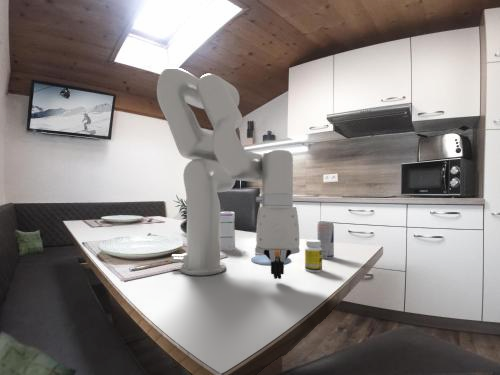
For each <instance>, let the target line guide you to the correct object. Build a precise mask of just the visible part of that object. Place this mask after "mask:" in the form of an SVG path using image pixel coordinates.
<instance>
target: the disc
mask: <svg viewBox="0 0 500 375" xmlns="http://www.w3.org/2000/svg"><path fill="white" fill-rule="evenodd" d="M276 260H278V258H276ZM250 261H251V262H252V263H254V264H255V265H261V266H271V260H270V259H269V258H268V257H267V256H266V255H254V256H252V257H251V258H250ZM291 262H292V259H291V258H290V257H289V256H288V257H287V258H286V259H285V261H284V265H287V264H290V263H291Z"/></svg>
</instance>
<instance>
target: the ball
mask: <svg viewBox="0 0 500 375" xmlns="http://www.w3.org/2000/svg"><path fill="white" fill-rule="evenodd" d="M274 254H275V257H276V258H278V257H279V254H280V250H274Z"/></svg>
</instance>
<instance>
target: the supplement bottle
mask: <svg viewBox="0 0 500 375" xmlns="http://www.w3.org/2000/svg"><path fill="white" fill-rule="evenodd" d="M305 245H306V246H305V249H304V270H305V271H306V272H308V273H321V272H322V271H323V259H322V248H321V247H320V246H321V241H320V240H318V239H307V240H306V243H305Z"/></svg>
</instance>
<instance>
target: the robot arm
mask: <svg viewBox="0 0 500 375" xmlns="http://www.w3.org/2000/svg"><path fill="white" fill-rule="evenodd" d="M156 97H157V102H158V105H159V107H160V109H161V111H162V113H163V116H164V117H165V120H166V122H167V124H168V127H169V131H170V133H171V136H172V138H173V139H174V142H175V145H176V149H177V150H178V152H179V154H180V155H181V157H182V158H185V159H187V160H190V161H189V162H187V163H186V166H184V170H183V185H184V189H185V196H186V252H185V253H182V254H172V255H171V261H172V262H173V263H175V264H177V263H181V266H180V271H181V273H183V274H184V275H189V276H202V277H203V276H212V275H216V274H219V273H222V272H224V271H225V270H226V266H227V265H226V263H225V262H223V261H221V250H220V213H221V203H220V201H221V200H220V198H219V195H218V193H223V192H228V191H230V190H231V189H233V187H234V186H235V185H236V184H235V183H236V181H243V182H244V181H245V182H250V183H251V182H253V183H254V182H255V183H257V182H261V195H259V196H256V197H255V201H256V202H255V203H260V204H261V206H259V207H258V211H257V216H256V218H257V219H256V232H255V234H256V235H255V236H256V237H255V238H256V240H255V242H256V246H255V248H254V252H255V251H256V252H257V253H261V254H265V255H266V256H267V257H268V258H269V259H270V260H271V265H270V274H271V275H273V279H275V280H276V279H277V280H278V279H279V280H280V279H282V275H284V274H285V270H284V268H285V266H284V265H285V264H284V261H285V259H286V258H287V257H288V258H289V257H290V256H291V255H294V254H298V253H300V251H301V250H300V227H299V224H300V223H299V216H298V211H297V206H295V207H294V188H293V187H294V184H293V183H294V170H293V169H294V164H293V163H294V160H293V159H294V158H293V153H292V152H291V151H288V150H284V149H272V150H271V149H270V150H266V151H265V152H263V154H259V153H256V152H252V151H249V150H246V149H245V148H244V146H243V144H242V143H241V141H240V138H239V136H238V134H237V131H236V129H237V128H239V127H240V125H241V124H242V122H243V115H242V113H241V111H240V109H239V108H238V106H239V105H240V94H239V91H238V89H237V88H236V87H235V86H234V85H232V84H231V83H229V82H228V81H226V80H225V79H223V78H222V77H221V76H219V75H216V74H213V73H206V74H204V75H202V76H201V77H199V78H198V77H197V76H195V75H194V74H192V73H190V72H188V71H186V70H184V69H183V68H179V67H176V66H175V67H173V66H171V67H166V68H165V69H164V70H163V71H162V72H161V73H160V75H159V77H158V80H157V84H156ZM188 104H189V105H191V106H193V107H195V108H198V109H202V110H204V112H205V113H206V115H207V117H208V120H209V122H210V124H211V126H212V127H213V130H212V132H209V131H206V130H204V129H202V128H201V126H200V124H199V121H198V120H197V117H196V115H195V113H194V111H193V110H192V108H191V107H190V106H189V105H188ZM274 250H280V254H279V257H278V260H276V257H275V254H274Z"/></svg>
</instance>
